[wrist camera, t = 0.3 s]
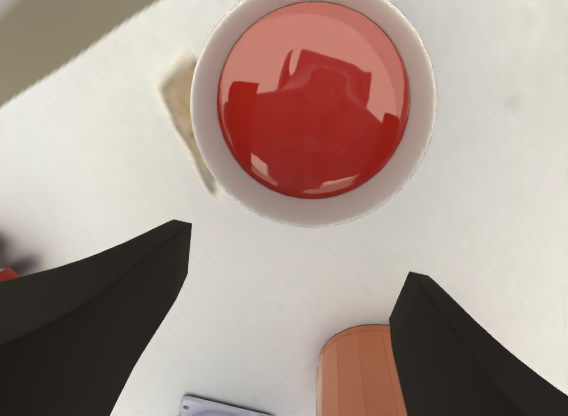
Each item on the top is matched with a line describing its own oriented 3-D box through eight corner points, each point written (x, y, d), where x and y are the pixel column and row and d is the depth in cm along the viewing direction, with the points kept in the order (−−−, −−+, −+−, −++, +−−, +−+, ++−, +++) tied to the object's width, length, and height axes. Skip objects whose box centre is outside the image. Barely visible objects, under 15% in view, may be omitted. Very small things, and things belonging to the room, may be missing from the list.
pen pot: (407, 412, 28) (432, 528, 22) (307, 388, 28) (301, 497, 22) (448, 339, 25) (494, 451, 18) (334, 312, 25) (337, 414, 18)
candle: (419, 4, 17) (469, -16, 11) (383, 183, 20) (406, 238, 15) (230, -9, 17) (183, -33, 11) (230, 168, 21) (195, 215, 15)
